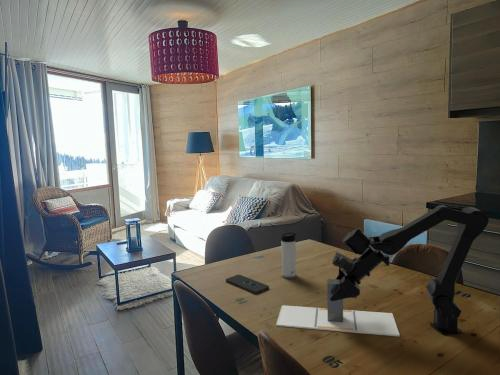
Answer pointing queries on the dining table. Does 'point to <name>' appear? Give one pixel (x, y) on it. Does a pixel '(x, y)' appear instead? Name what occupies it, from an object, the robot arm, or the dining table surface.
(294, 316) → the board
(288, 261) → the travel mug
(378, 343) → the dining table surface
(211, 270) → the dining table surface
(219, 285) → the dining table surface
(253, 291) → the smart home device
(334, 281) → the translucent grey tumbler
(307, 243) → the dining table surface
